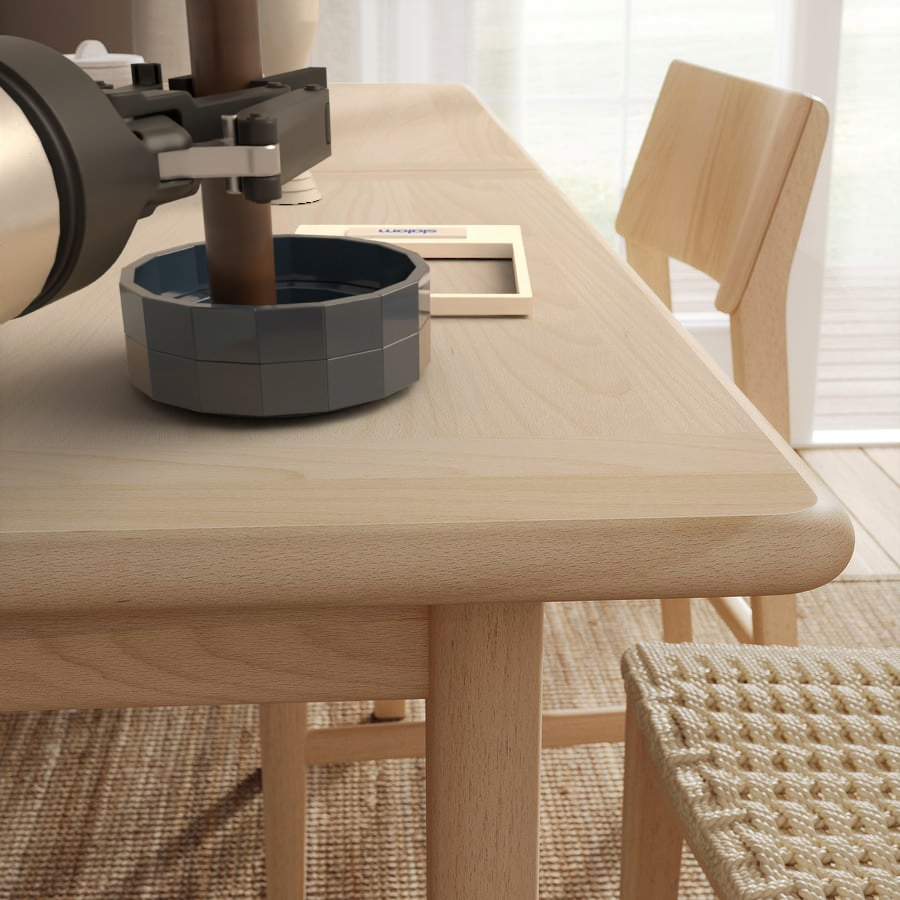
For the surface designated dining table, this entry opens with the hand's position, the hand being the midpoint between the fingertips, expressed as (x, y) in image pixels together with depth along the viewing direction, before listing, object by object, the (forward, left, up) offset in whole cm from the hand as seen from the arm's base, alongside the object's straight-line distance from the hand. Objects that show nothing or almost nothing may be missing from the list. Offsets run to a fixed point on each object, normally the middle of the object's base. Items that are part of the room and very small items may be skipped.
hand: (282, 98), depth 52 cm
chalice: (-25, +30, -12) cm, 41 cm away
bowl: (+2, -3, -12) cm, 12 cm away
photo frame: (-4, +15, -12) cm, 19 cm away
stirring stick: (+2, -5, -9) cm, 11 cm away
